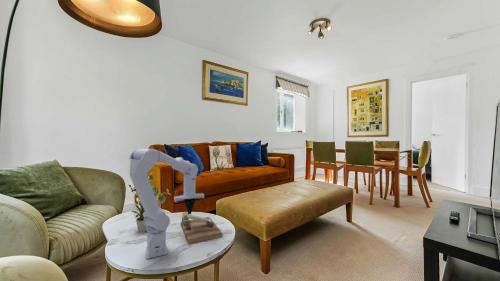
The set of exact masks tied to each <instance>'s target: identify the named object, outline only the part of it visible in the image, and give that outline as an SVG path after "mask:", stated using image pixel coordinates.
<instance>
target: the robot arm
mask: <svg viewBox="0 0 500 281" xmlns="http://www.w3.org/2000/svg"><path fill="white" fill-rule="evenodd" d="M128 159H129V161H130V165H129V177H130V179H131V182H132V185H133V186H134V189H135V191H136V194H137V196H138V198H139V201H140V204H141V203H142V205H143V208H144V210H145V212H144V213H143V217H144V225H145V226H147V231H146V244H147V245H146V246H145V259H147V260H148V259H152V258H157V257H160V256H165V255H168V251H169V250H168V247H167V240H166V238H167V234H166V233H167V231H166V230H167V228H168V227H169V225H170V223H171V222H170V221H171V219H170V217H169V216H168V215H167V214H166V212H165V210H163V209H162V208H161V207H160V206H159V205H160V204H159V201H158V200H157V197H156V195H155V193H154V190H153V187H152V185H151V182H150V180H149V177H148V173H149V172H150V171H151V170H152V169H153V167H154V166H155V165H156V164H157V163H160V162H161V163H163V164H167V165H170V166H171V168H172V169H174V171H178V172H181V173H182V174H183V194H182V195H175V196H174V197H173V201H174V202H175V203H176V202H179V201H183V202H184V205H185V207H186V210H187V211H186V212H187V213H188V214H189V215H192V212H193V208H194V205H195V203H196V199H204V198H205V193H203V192H202V193H196V182H197V181H196V178H197V174H198V172H199V168H198V166H197V164H196V163H191V161H189V160H185V159H184V158H183V157H182V156H179V157H175V158H174V157H172V156H170V155H169V154H167V153H164V152H162V151H161V150H158V149H155V148H142V147H139V148H135V149H134V150H132V153H130V155H129V157H128Z"/></svg>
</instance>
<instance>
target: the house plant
mask: <svg viewBox="0 0 500 281" xmlns="http://www.w3.org/2000/svg"><path fill="white" fill-rule="evenodd" d="M133 204H134V206H133V208H134V209H137V211H136V210H132V211H130V212H131V213H135V221H136V226H137V232H138V233H147V226H145V225H144V217H143V213H144V212H145V210H144V208H143V205H142V203H141V202H140V204H138V203H133Z"/></svg>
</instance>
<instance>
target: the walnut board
mask: <svg viewBox="0 0 500 281" xmlns="http://www.w3.org/2000/svg"><path fill="white" fill-rule="evenodd" d="M204 218H206V219H208V218H209V219H210V220H211V221H212V222H209V223H207V222H203V221H198V220H194V219H185V220H184V219H183V217H182V216H181V221H180V227H181V229H182V232H183V235H184V238H185V239H186V242H187V245H190V244H195V243H199V242H204V241H207V240H212V239H217V238H221V237H222V236H223V232H222V231H221V229H220V228H219V227H218V226H217V224H216V223H215V222H214V221H213V220H212V218H211V217H210V216H205V217H204Z"/></svg>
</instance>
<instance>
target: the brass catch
mask: <svg viewBox="0 0 500 281" xmlns="http://www.w3.org/2000/svg"><path fill="white" fill-rule="evenodd" d="M187 215H188V212H187V211H183V212H182V216H181V218H182V217H183V219H184V220H185V219H189V218H188V217H187ZM189 220H190V219H189Z"/></svg>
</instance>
